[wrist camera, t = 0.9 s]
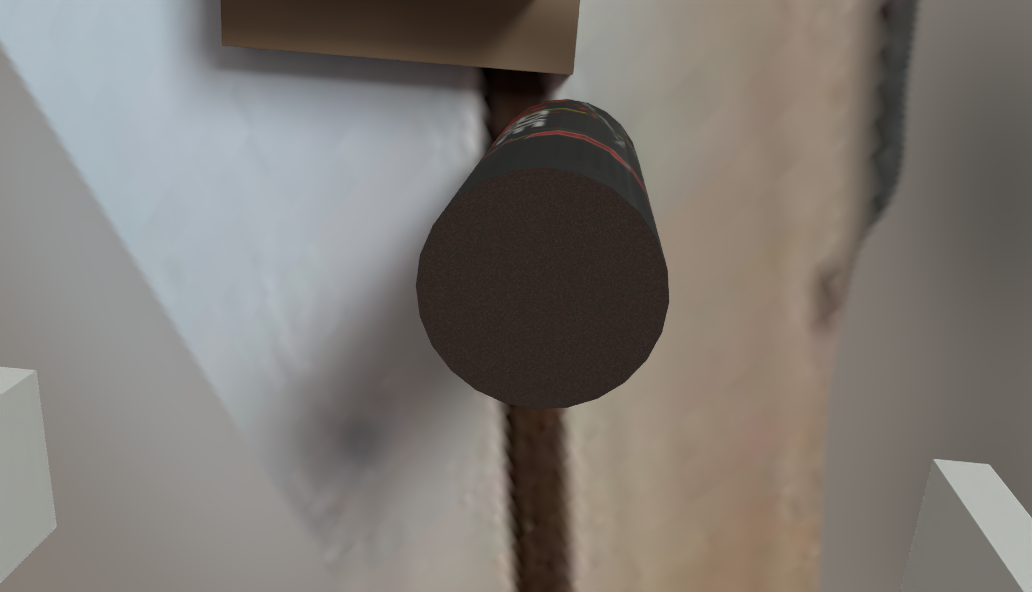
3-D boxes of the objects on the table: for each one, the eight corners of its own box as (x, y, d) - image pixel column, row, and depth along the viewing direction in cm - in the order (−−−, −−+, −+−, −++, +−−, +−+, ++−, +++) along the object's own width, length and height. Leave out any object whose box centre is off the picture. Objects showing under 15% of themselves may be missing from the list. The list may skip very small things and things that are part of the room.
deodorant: (569, 66, 34) (550, 111, 20) (671, 182, 35) (722, 305, 21) (457, 170, 35) (364, 282, 21) (558, 278, 37) (533, 454, 22)
